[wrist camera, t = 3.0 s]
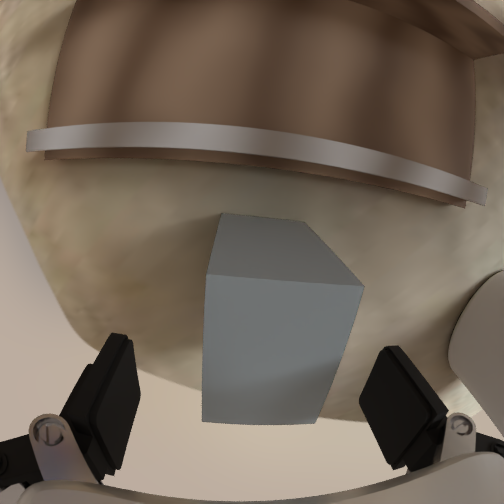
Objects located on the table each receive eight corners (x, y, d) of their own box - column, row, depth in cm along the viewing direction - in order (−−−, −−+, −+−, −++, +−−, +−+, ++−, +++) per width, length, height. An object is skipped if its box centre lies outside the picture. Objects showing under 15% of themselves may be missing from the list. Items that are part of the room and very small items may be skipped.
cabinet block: (304, 222, 17) (364, 286, 9) (283, 332, 20) (309, 435, 11) (221, 213, 17) (206, 274, 8) (212, 327, 19) (202, 433, 11)
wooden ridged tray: (460, 50, 13) (516, 36, 7) (452, 204, 17) (514, 227, 11) (91, -8, 11) (50, -47, 5) (56, 158, 15) (-9, 167, 9)
